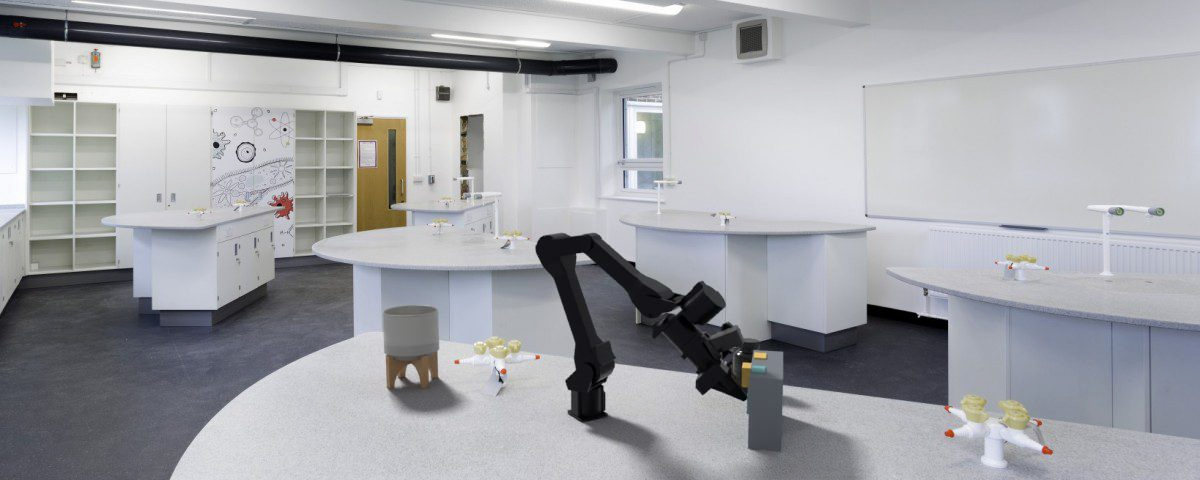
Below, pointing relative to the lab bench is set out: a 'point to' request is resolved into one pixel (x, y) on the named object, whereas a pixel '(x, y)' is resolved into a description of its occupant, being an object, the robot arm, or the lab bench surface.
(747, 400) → the teal button
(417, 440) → the lab bench surface
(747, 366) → the amber button
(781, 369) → the button panel
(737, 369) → the supplement bottle
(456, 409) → the lab bench surface
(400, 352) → the planter
